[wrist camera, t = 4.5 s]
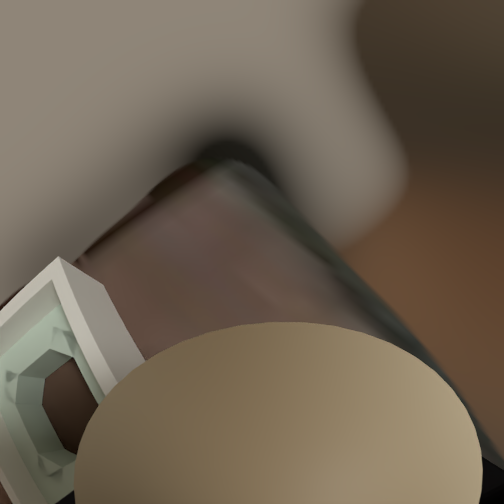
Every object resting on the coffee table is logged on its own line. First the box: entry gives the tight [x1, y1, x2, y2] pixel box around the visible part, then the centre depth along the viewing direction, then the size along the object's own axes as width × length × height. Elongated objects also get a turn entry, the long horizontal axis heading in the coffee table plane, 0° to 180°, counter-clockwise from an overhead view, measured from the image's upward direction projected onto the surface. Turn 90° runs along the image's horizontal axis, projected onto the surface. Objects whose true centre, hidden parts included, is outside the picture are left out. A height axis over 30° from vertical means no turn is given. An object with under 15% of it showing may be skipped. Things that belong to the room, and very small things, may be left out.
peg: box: [74, 322, 483, 504], centre depth 8 cm, size 4×4×13 cm
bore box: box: [0, 257, 145, 504], centre depth 12 cm, size 11×11×4 cm
